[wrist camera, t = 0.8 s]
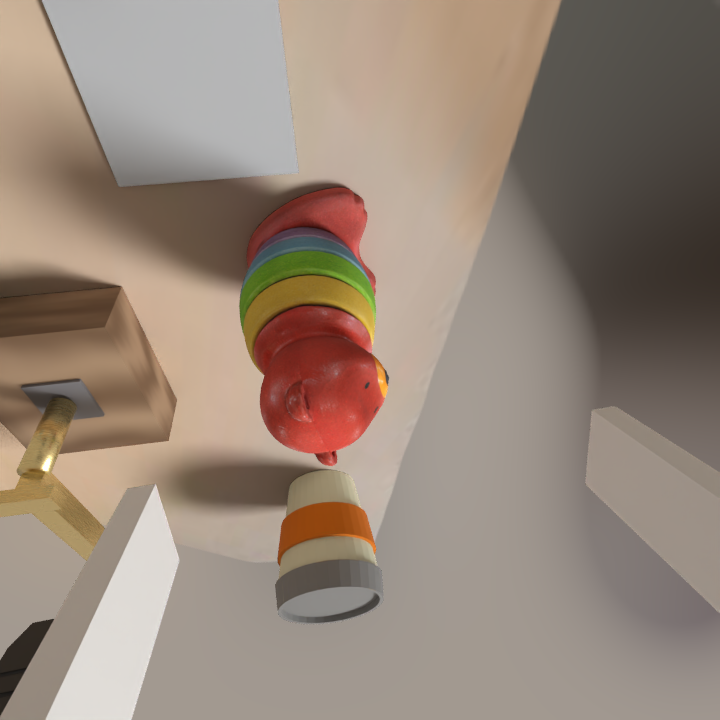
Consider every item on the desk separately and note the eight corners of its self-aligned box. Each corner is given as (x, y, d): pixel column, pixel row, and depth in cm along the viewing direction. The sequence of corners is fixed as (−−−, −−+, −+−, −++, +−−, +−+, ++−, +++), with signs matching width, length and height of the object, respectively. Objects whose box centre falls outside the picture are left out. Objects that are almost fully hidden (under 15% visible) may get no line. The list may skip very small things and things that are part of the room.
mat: (20, -60, 22) (17, -59, 21) (269, -69, 23) (269, -69, 22) (120, 184, 30) (118, 187, 30) (298, 170, 31) (298, 173, 31)
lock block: (-39, 301, 35) (-76, 348, 31) (121, 286, 36) (103, 330, 32) (53, 414, 45) (33, 459, 41) (176, 400, 45) (168, 443, 42)
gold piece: (24, 401, 35) (-30, 506, 29) (88, 394, 36) (47, 496, 29) (105, 495, 46) (78, 587, 40) (153, 489, 46) (134, 579, 40)
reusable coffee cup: (366, 504, 66) (383, 616, 56) (280, 514, 65) (281, 630, 55) (368, 457, 58) (389, 578, 47) (269, 467, 56) (268, 595, 46)
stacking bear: (377, 299, 40) (424, 474, 27) (266, 320, 40) (261, 505, 27) (362, 180, 32) (417, 349, 20) (224, 206, 32) (191, 391, 20)
